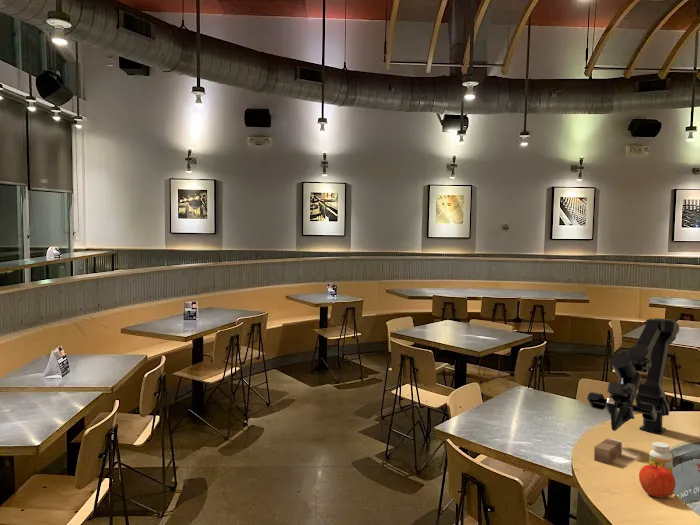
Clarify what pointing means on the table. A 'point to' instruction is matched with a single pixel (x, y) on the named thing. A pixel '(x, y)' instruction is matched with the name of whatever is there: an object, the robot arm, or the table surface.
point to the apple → (657, 480)
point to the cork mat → (627, 457)
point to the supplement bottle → (661, 456)
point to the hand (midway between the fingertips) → (613, 429)
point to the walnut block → (608, 450)
